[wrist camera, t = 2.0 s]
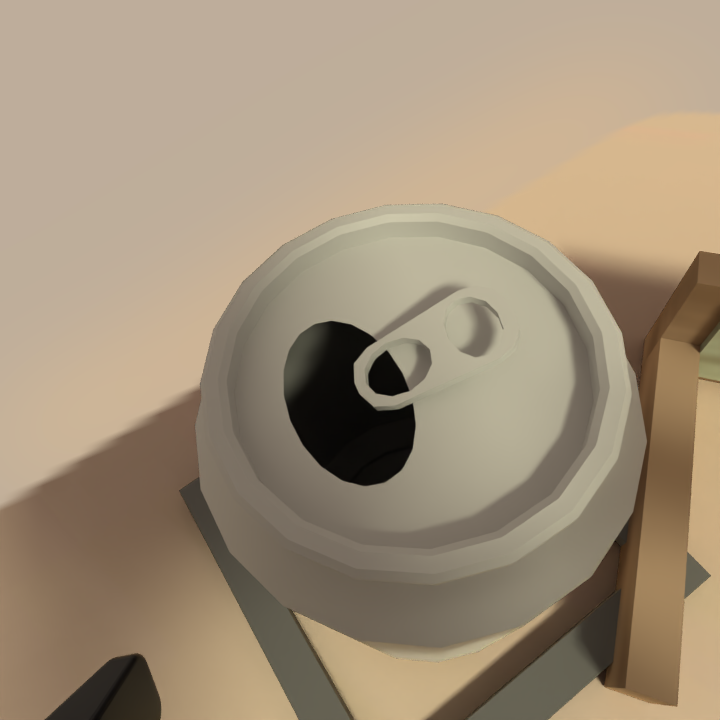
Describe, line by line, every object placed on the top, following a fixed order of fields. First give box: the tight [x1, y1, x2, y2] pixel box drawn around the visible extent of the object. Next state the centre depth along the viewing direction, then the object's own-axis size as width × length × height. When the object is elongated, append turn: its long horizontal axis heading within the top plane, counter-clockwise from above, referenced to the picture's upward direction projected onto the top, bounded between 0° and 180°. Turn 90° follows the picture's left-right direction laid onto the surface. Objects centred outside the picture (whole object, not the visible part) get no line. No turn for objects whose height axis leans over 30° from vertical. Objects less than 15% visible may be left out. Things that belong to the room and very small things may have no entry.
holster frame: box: [179, 477, 711, 720], centre depth 18 cm, size 12×12×1 cm
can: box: [195, 204, 647, 662], centre depth 13 cm, size 8×8×12 cm
